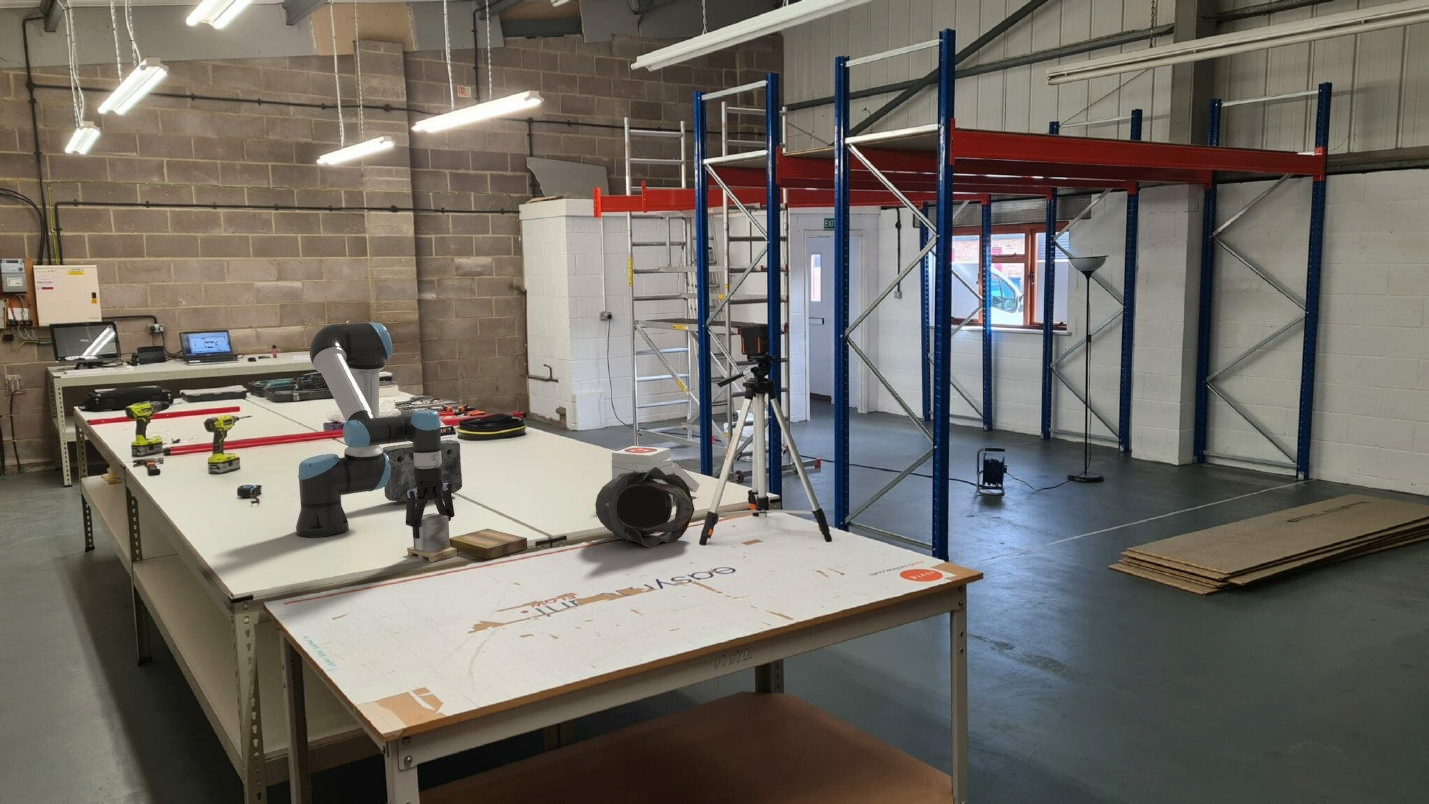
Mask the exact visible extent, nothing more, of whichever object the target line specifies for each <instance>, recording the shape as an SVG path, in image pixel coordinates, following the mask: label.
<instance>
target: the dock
mask: <svg viewBox="0 0 1429 804" xmlns="http://www.w3.org/2000/svg"><path fill="white" fill-rule="evenodd" d="M449 540H450V547H452V548H456V549H457V552H461V553H464V554H467V555H470V556H475V557H478V558H482V559H485V560H490V559H494V558H498V557H501V556H504V555H509V554H513V553H516V552H520V551H523V550H525V549H528V537H524V536H519V535H515V534H512V533H508V532H504V531H503V532H502V531H498V530H495V529H491V528H484V529H480V530H476V531H472V532H469V533H465V534H460V535H456V536H452V537H449Z"/></svg>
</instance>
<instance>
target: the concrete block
mask: <svg viewBox="0 0 1429 804" xmlns="http://www.w3.org/2000/svg"><path fill="white" fill-rule="evenodd" d="M381 448H382V449H383V453H385V454H386V455H387V456H388V458H389V461H390V462H389V464H390V476H389V480H388V482H387V484H386V485H385V486H384V487H383V488H384V497H385V498H386V499H387V500H388V501H391V502H402V503H404V502H405V503H407V497H406V490H412V489H414V487H415V485H416V482H415V479H414V468H415V467H416V466H414V460H413V442H410V443H404V444H397V445H389V446H384V447H381ZM441 458H442V463H441V465H440V466H441V467H442V479H441V480H442V482H443V483H450V484H452V488H451V495H453V494H454V493H457V492H459V491H460V490H461V489H462V487H463V480H462V479H463V477H462V476H463V475H462V462H461V444H460V442H459V441H458V440H453V439H445V440H442V439H441ZM440 493H441V496H442V498H443V490H442V489H441V491H440ZM416 495H417V496H416V503H417V497H418V494H417V493H416ZM422 500H423V499H422ZM429 501H434V500H433V499H430V500H429Z"/></svg>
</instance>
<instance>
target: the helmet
mask: <svg viewBox="0 0 1429 804" xmlns="http://www.w3.org/2000/svg"><path fill="white" fill-rule="evenodd" d="M653 479H658V480H660V479H661V480H663V481H664V482H665V483H667V484H663V483H658V482H656V481H654V480H653ZM669 494H671V495H672V496H673V498H675V507H676V508H675V515H674V519H672V520H670V519H671V517H672V511H673V502H672V499H671V497H670V495H669ZM595 499H596V500H595V514H596V516H597V518H598V520H599V522H600V523H601V524H602V525H603V527H604V528H606V530H608V531H609V532H612V534H613V535H614V537H616V538H617V539H619V540H625V541H628V542H637V543H639V544H641V545H642V546H644V547H646V548H648V549H652V548H653V547H656V546H657V545H658V544H660V543H661V542H664V543H667V544H670V543H674V542H677V541H678V540H679V539H681V538H682V536H683V535H684V534H685V533H686V532H687V529H688V528H689V525H690V523H691V520H692V517H693V515H694V513H695V505H694V503H693V502H694V501H693V499H692V494H691V491H690V490H689V488H688V486H687V484H686V483H685V481H684V480H683V479H682V478H681V477H680V476H677V475H675V474H668V475H665V474H664V473H663V472H662V471H661V470H660V469H659V468H657V467H654V468H652V469H650V470H649V471H647V472H636V471H633V472H624V473H621V474H619V475H618V477H617V478H615V479H613V480H612V479H611V480H609V482H607V483H606V484H605V485H603V486H602V487H601V489H600V490H599V492H598V493H597V496H596V498H595ZM669 520H670V521H669ZM655 533H660V534H659V535H653V534H655Z"/></svg>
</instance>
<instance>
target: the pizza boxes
mask: <svg viewBox="0 0 1429 804" xmlns="http://www.w3.org/2000/svg"><path fill="white" fill-rule="evenodd" d="M654 467H657V468H659V469H660V470H661V471H662V472H663V473H664V474H665V475H668V474H675V475H677V476H680V477H681V478H682V479H683V480H684V481H685V483H686V484H687V486H688V488H689V490H690V493H691V492H692V493H697V491H698V489H699V487H700V484H699V483H698V481H696V480H695V479H694V478H693V477H692V476H691V475H690V474H689V473H687V471H685V470H684V469H683V468H682V467H681V466H680V465H679V464H678V463H676V462H673V459H672V458H671V448H669V447H654V446H653V447H651V446H640V445H639V446H638V445H637V446H636V445H631V446H629V447H625V448H623V449H620V450H616V451H612V452H611V480H613V479H615V478H617V477H618V475H619V474H621V473H624V472H633V471H636V472H647V471H649V470H650V469H652V468H654ZM653 480H654V481H656V482H658V483H663V484H667V483H665V482H664V481H663V480H661V479H660V480H658V479H653ZM669 495H670V497H671V499H672V503H673V502H674V496H672V495H671V494H669Z"/></svg>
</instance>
